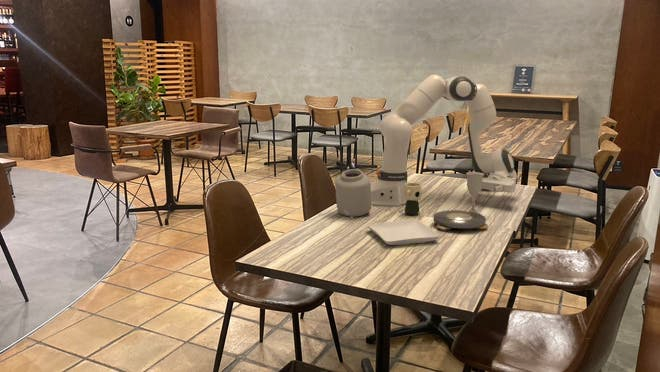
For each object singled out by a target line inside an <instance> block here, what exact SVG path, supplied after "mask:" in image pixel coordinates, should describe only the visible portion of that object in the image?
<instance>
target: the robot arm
mask: <svg viewBox="0 0 660 372" xmlns="http://www.w3.org/2000/svg"><path fill="white" fill-rule="evenodd" d="M442 98H444V99H445V100H448V101H452V102H465V103H466V104H467V105H466V106H467V107H468V111H469V114H470V122H469V123H468V125H467V135H468V137H467V138H468V142H469V150H470V155H471V167H472V170H473V171H472V172H479V173H484V175H486V174H487V175H488V174H490V175H489V176H488V177H487V178H483V180H482V187H481V190H483V189H489V190H488V191H491V192H493V193H508V194H509V193H510V194H512V193H514V192H516V187H517V178H518V176H517V175H518V174H517V172H516V170H515V160H514V156H513V155H512V154H511V153H510V152H509V151H508V150H506V149H504V148H503V149H499V150H494V151H489V152H486V153H484V152H482V146H481V139H480V135H481V133H482V132H483V131H484V130H485V129H487V128H488V127H489V126H492V124H493V123H494V121H495V119H496V118H497V110H496V106H495V103H494V101H493V98H492V95H491V93H490V92H489V89H488V88H487V87H486V85H485V84H483V83H474V82H473V81H472V80H471V79H470V78H468V77H466V76H459V75H454V76H449V77H446V78H443V77H441V76H440V75H439V74H430V75H429V76H428V77H426V78H425V79H424V80H423V81H422V82H420V83H419V84H418V86H416V88H414V89H413V91H412V92H411V93H410V94H409V95H408V96H407V97H406V98H405V99H404V100H403V102H401V103H400V104H399V105H398V106H397V107H395V108H394V109H393V110H392V111H391V112H390V113H388V114H387V115H386V116H384V117H383V118H382V119H381V120H380V122H379V131H380V133H381V135H382V136H383V137H384V138H385V145H384V149H383V152H382V158H381V160H382V167H381V169H382V170H379V169H377V170H375V175H376V176H377V179H376V180H374V181H373V182H372V183H371V182H370V185H371V204H372V206H385V207H386V206H390V207H391V206H392V207H399V206H401V205H406V201H407V199H405V198H404V185H405V183H408V169H407V164H408V160H407V159H408V151H409V147H410V142H411V138H412V136H413V132H414V131H413V127H412V126H413V125H414V124H415V123H416V122H418V121H419V120H421V119H422V118H424V116H425V115H427V113H429V111H430V110H431V109H432V108H433V107H434V106H435V105H436V103H437V102H439V100H440V99H442Z"/></svg>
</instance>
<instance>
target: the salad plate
mask: <svg viewBox="0 0 660 372" xmlns="http://www.w3.org/2000/svg"><path fill="white" fill-rule="evenodd" d="M366 226H367V228H368V229H369V230H370V231H371V232H373V233H374V234H375V235H377V236H378V237H379V238H380V239H381V240H382V241H383V242H384V243H385V244H387V245H389V246H400V245H401V246H402V245H412V244H421V243H428V242H434V241H435V240H438V239H439V238H440V237H441V234H439V233H437V232H436V231H434V230H433V229H431V228H430V227H429V226H428V225H426V224H424V222H422V221H420V220H419V219H408V220H405V219H403V220H393V221H387V222H386V221H385V222H384V221H383V222H378V223H377V222H376V223H375V222H374V223H367V224H366Z"/></svg>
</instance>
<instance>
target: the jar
mask: <svg viewBox="0 0 660 372" xmlns="http://www.w3.org/2000/svg"><path fill="white" fill-rule="evenodd" d="M351 164H352V167H355V164H354V163H353V162H351ZM349 168H350V167H349V166H347V169H346V170H343V171H341V174H340V175H339V176H337V178H336V179H335V180H334V186H335V187H334V188H335V198H336V199H335V201H336V202H335V203H336V208H337V212H338V213H340V214H341V215H343V216H346V217H348V218H356V217H357V218H358V217H361V216H364V215H366V214H368V213H369V212H370V211H371V210H372V206H373V205H372V204H371V185H370V184H371V179H370V177H369V176H368V175H367V174H365V173H364V172H363V171H362V170H360V169H359V168H355V169H354V168H353V169H349Z"/></svg>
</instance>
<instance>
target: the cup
mask: <svg viewBox="0 0 660 372" xmlns="http://www.w3.org/2000/svg"><path fill="white" fill-rule="evenodd" d="M490 174H491V173H489V174H486V175H484V176H483V178H487V177H488V176H489V175H490ZM482 191H485V192H488V191H490V190H489V189H482Z"/></svg>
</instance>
